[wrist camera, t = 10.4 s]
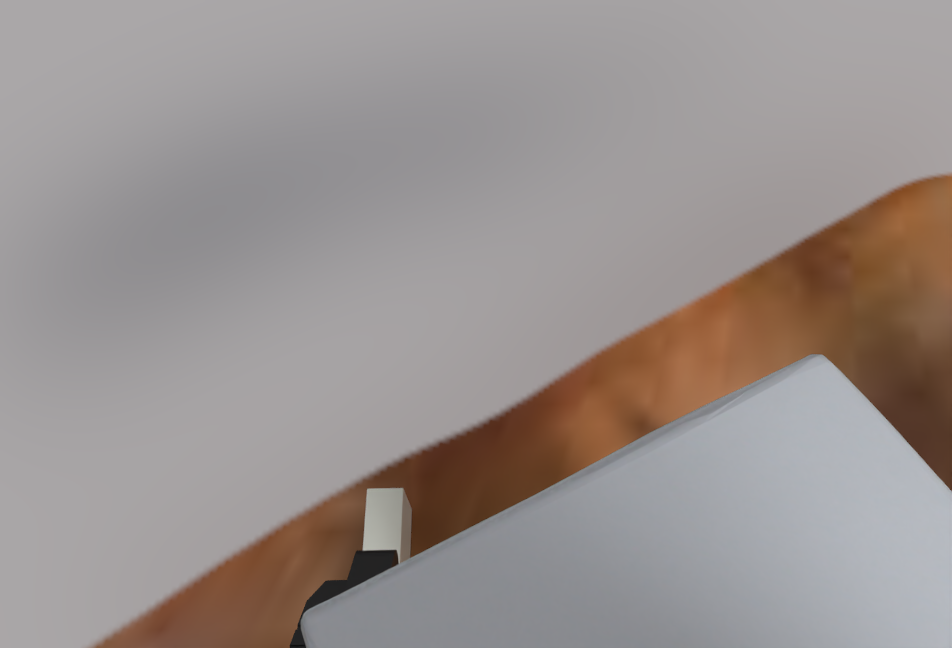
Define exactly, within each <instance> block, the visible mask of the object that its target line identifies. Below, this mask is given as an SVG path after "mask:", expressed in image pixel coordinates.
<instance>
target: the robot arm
mask: <svg viewBox="0 0 952 648" xmlns="http://www.w3.org/2000/svg"><path fill="white" fill-rule="evenodd" d="M398 564H399V561H398V553H397V550H363V551H356V553H355V556H354V559H353V563H352V566H351V569H350V573H349V576H348V579H347V580H332V581H325V582H324V583H323V584H322V585H321V587H320V588H319V589H318V590H317V591H316V592H315V593H314V594H313V595H312V596H311V597H310V598H309V599H308V600H307V602H306V604H305V607H304V610H303V612H302V615H301V618H300V620H299V623H298V628H297V630H296V631H295V633H294V636H293V638H292V641H291V644H290V648H306V645H305V641H304V638H303V634H302V631H301V619H302V617H303V614H304V613H305V612H306V611H307V610H308V609H310V608H312V607H314V606H316V605H318V604H320V603H323V602H325V601H327V600H329V599H331V598H333V597H335V596H337V595H339V594H341V593H343V592H345V591H347V590H349V589H351V588H353V587H355V586H357V585H359V584H361V583H363V582H365V581H367V580H369V579H370V578H372V577H374V576H376V575H378V574H380V573H382V572H384V571H386V570H388V569H390V568H392V567H394V566H396V565H398Z"/></svg>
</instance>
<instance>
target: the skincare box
mask: <svg viewBox="0 0 952 648" xmlns="http://www.w3.org/2000/svg"><path fill="white" fill-rule="evenodd" d="M301 631H302V634H303V638H304V641H305V645H306V648H952V491H951V490H950V489H949V488H948V487H947V486H946V485H945V484H944V483H943V481H942V480H941V479H940V478H939V477H938V476H937V475H936V474H935V473H934V471H933V470H932V469H931V468H930V467H929V466H928V465H927V464H926V462H925V461H924V460H923V459H922V458H921V457H920V456H919V455H918V453H917V452H916V451H915V450H914V449H913V448H912V447H911V446H910V445H909V443H908V442H907V441H906V440H905V439H904V438H903V437H902V436H901V435H900V433H899V432H898V431H897V430H896V429H895V428H894V427H893V426H892V425H891V424H890V423H889V421H888V420H887V419H886V418H885V417H884V416H883V415H882V414H881V413H880V412H879V411H878V410H877V409H876V408H875V407H874V406H873V404H872V403H871V402H870V401H869V400H868V399H867V398H866V397H865V396H864V395H863V394H862V393H861V392H860V391H859V390H858V389H857V388H856V387H855V386H854V385H853V384H852V383H851V381H850V380H849V379H848V378H847V377H846V376H845V375H844V374H843V373H842V372H841V371H840V370H839V369H838V368H837V367H836V366H835V365H834V364H833V363H832V362H830V361H829V360H828V359H827V358H826V357H825V356H824V355H818V354H811V355H809V356H807V357H805V358H803V359H801V360H799V361H797V362H795V363H793V364H791V365H788V366H786V367H784V368H782V369H780V370H778V371H776V372H774V373H772V374H770V375H768V376H766V377H764V378H762V379H760V380H758V381H755V382H753V383H751V384H749V385H747V386H745V387H743V388H741V389H739V390H736V391H734V392H732V393H730V394H728V395H726V396H724V397H721V398H719V399H717V400H715V401H713V402H711V403H709V404H707V405H705V406H703V407H701V408H699V409H697V410H694V411H692V412H690V413H688V414H686V415H684V416H682V417H680V418H678V419H676V420H674V421H672V422H670V423H668V424H666V425H664V426H662V427H660V428H658V429H656V430H654V431H652V432H650V433H648V434H647V435H645V436H643V437H641V438H639V439H637V440H636V441H634V442H632V443H630V444H628V445H626V446H625V447H623V448H621V449H619V450H617V451H615V452H614V453H612V454H610V455H608V456H606V457H604V458H603V459H601V460H599V461H597V462H595V463H593V464H591V465H590V466H588V467H586V468H584V469H582V470H580V471H578V472H576V473H575V474H573V475H571V476H569V477H567V478H565V479H563V480H562V481H560V482H558V483H556V484H554V485H552V486H550V487H549V488H547V489H545V490H543V491H541V492H539V493H537V494H535V495H533V496H531V497H529V498H527V499H525V500H524V501H522V502H520V503H518V504H516V505H514V506H512V507H510V508H508V509H506V510H504V511H502V512H500V513H498V514H496V515H494V516H492V517H490V518H488V519H486V520H484V521H482V522H480V523H478V524H476V525H474V526H472V527H470V528H468V529H466V530H464V531H462V532H460V533H458V534H456V535H454V536H452V537H450V538H449V539H447V540H445V541H443V542H441V543H439V544H437V545H435V546H433V547H431V548H429V549H427V550H425V551H423V552H421V553H419V554H417V555H415V556H413V557H411V558H409V559H408V560H406V561H404V562H402V563H400V564H398V565H396V566H394V567H392V568H390V569H388V570H386V571H384V572H382V573H380V574H378V575H376V576H374V577H372V578H370V579H369V580H367V581H365V582H363V583H361V584H359V585H357V586H355V587H353V588H351V589H349V590H347V591H345V592H343V593H341V594H339V595H337V596H335V597H333V598H331V599H329V600H327V601H325V602H323V603H320V604H318V605H316V606H314V607H312V608H310V609H308V610H307V611H306V612H305V613H304V614H303V617H302V619H301Z"/></svg>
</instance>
